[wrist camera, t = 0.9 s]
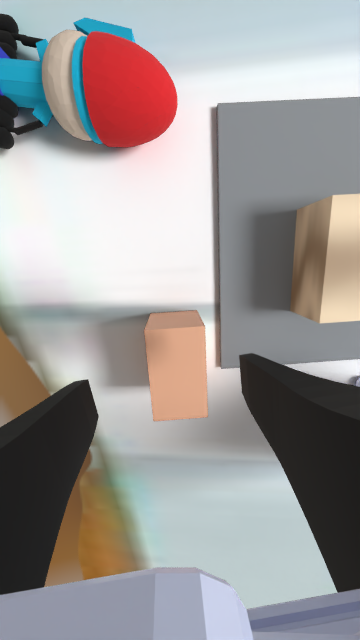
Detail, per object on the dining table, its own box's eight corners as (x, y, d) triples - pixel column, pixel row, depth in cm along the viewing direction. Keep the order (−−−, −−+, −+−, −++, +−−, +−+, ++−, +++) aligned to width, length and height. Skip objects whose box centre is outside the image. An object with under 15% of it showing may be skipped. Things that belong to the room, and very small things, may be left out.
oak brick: (358, 306, 20) (404, 317, 16) (290, 310, 19) (319, 323, 16) (372, 205, 18) (430, 189, 14) (296, 209, 17) (333, 195, 14)
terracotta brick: (199, 381, 21) (207, 417, 17) (157, 384, 21) (153, 421, 17) (196, 310, 20) (204, 326, 15) (150, 313, 20) (144, 330, 15)
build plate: (388, 354, 21) (392, 356, 21) (220, 366, 21) (221, 368, 21) (438, 96, 16) (445, 93, 16) (216, 107, 16) (218, 103, 16)
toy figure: (-15, 160, 18) (172, 186, 16) (-98, 113, 13) (158, 144, 12) (-11, 47, 16) (191, 65, 15) (-102, -52, 12) (184, -39, 10)
